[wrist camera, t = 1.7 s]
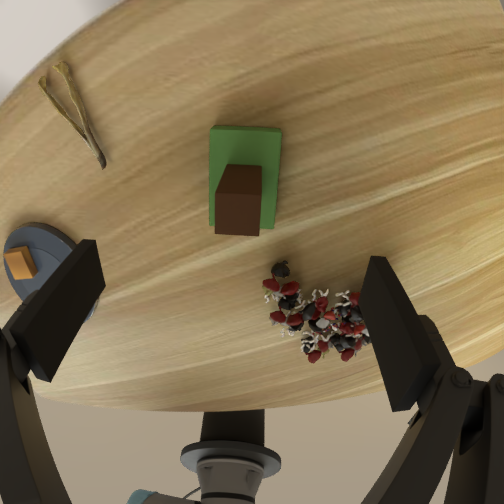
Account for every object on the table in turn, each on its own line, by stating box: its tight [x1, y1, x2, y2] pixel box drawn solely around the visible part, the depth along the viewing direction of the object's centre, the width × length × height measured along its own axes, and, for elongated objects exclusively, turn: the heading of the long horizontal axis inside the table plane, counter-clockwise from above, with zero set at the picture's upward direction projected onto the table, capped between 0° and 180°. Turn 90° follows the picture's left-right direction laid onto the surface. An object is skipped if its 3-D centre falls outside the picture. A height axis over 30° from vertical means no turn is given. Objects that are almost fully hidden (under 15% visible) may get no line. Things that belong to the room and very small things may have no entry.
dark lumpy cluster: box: [262, 260, 371, 363], centre depth 35 cm, size 15×14×5 cm
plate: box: [4, 223, 98, 323], centre depth 36 cm, size 16×16×1 cm
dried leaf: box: [38, 62, 106, 170], centre depth 25 cm, size 4×13×2 cm, turn 25°
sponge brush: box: [209, 126, 282, 236], centre depth 25 cm, size 9×6×10 cm, turn 177°
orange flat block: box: [3, 246, 38, 280], centre depth 33 cm, size 4×4×2 cm
